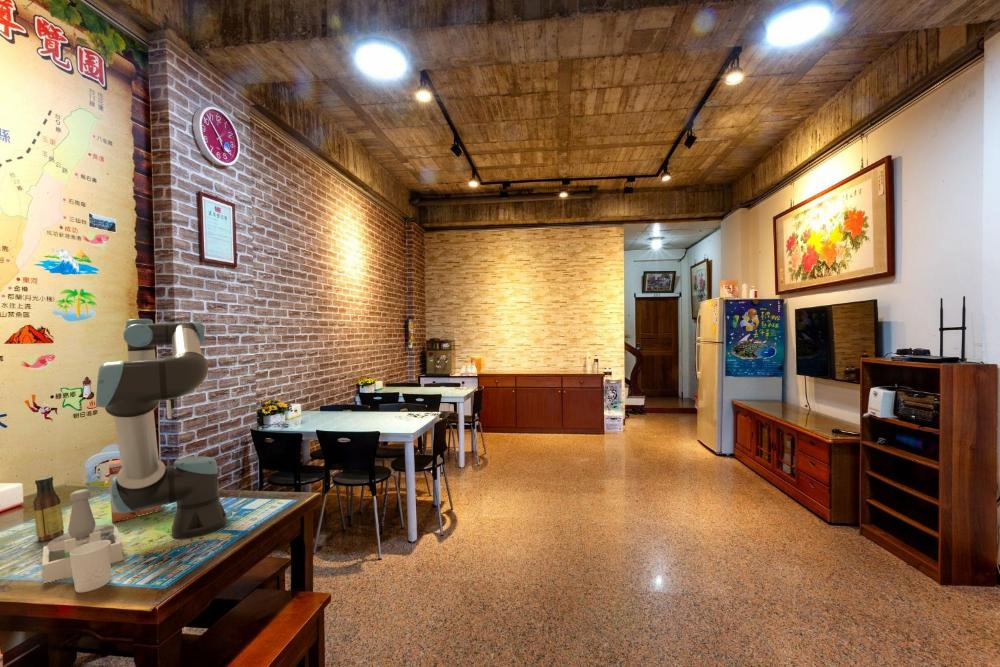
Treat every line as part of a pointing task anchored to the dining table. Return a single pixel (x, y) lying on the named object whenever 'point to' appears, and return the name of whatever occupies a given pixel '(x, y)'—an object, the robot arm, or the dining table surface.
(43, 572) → the square open box
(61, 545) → the grey shiny rounded piece
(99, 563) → the white cup
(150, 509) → the cracker box
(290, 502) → the dining table surface
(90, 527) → the salt shaker
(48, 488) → the sauce bottle
